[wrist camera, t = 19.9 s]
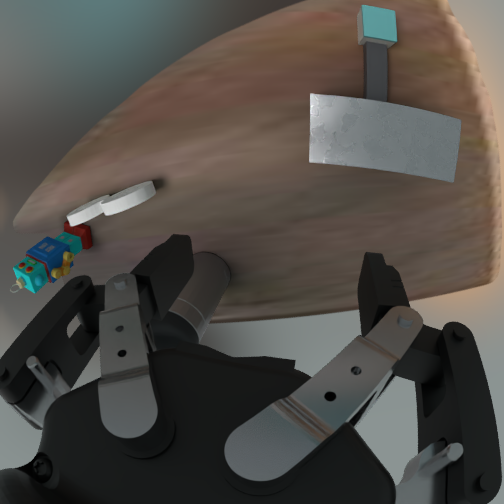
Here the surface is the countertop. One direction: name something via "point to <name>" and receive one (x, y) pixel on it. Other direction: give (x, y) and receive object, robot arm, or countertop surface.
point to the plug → (376, 48)
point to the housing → (383, 136)
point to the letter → (112, 203)
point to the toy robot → (52, 257)
